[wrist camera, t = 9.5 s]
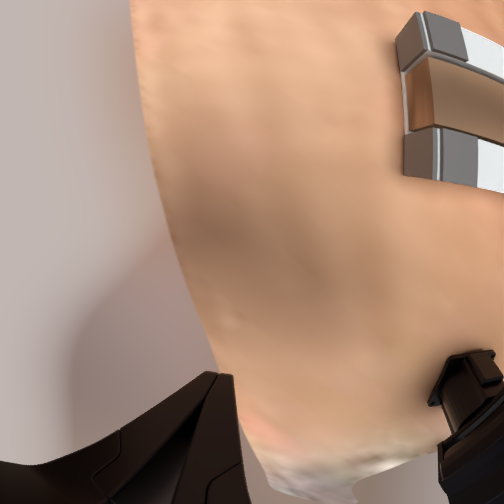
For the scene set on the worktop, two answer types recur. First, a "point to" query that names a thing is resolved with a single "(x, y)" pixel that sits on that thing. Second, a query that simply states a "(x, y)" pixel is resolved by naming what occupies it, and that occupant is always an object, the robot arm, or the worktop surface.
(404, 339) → the worktop surface
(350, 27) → the worktop surface
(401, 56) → the sleeve
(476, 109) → the peg
